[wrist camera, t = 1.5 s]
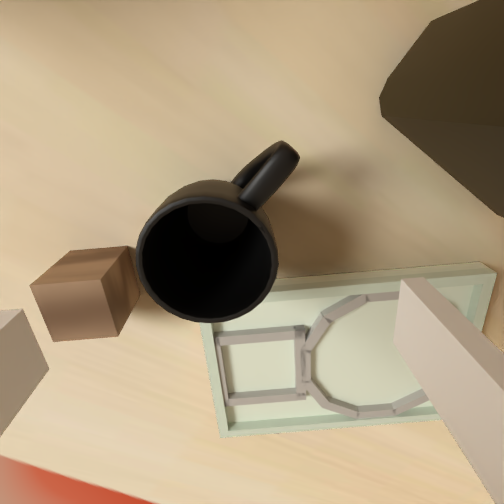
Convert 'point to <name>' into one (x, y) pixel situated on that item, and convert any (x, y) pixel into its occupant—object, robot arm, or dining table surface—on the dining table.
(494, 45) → the bottle
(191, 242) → the mug
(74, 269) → the block
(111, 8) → the dining table surface
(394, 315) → the tray
